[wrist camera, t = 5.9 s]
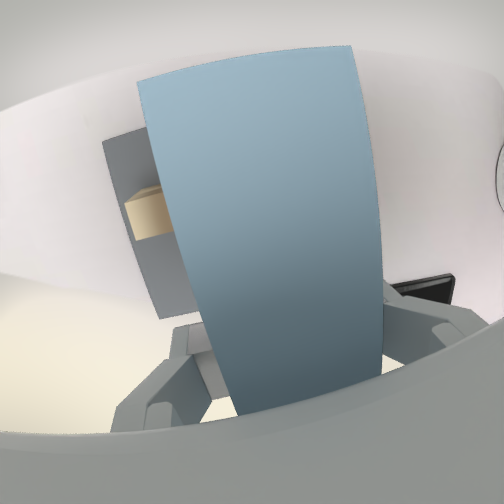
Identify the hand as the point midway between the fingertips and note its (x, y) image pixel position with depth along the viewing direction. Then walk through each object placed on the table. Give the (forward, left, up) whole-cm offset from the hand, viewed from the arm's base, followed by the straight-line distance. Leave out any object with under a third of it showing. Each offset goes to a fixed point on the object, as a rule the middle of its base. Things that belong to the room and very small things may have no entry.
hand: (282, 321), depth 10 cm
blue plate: (0, 0, -8) cm, 8 cm away
